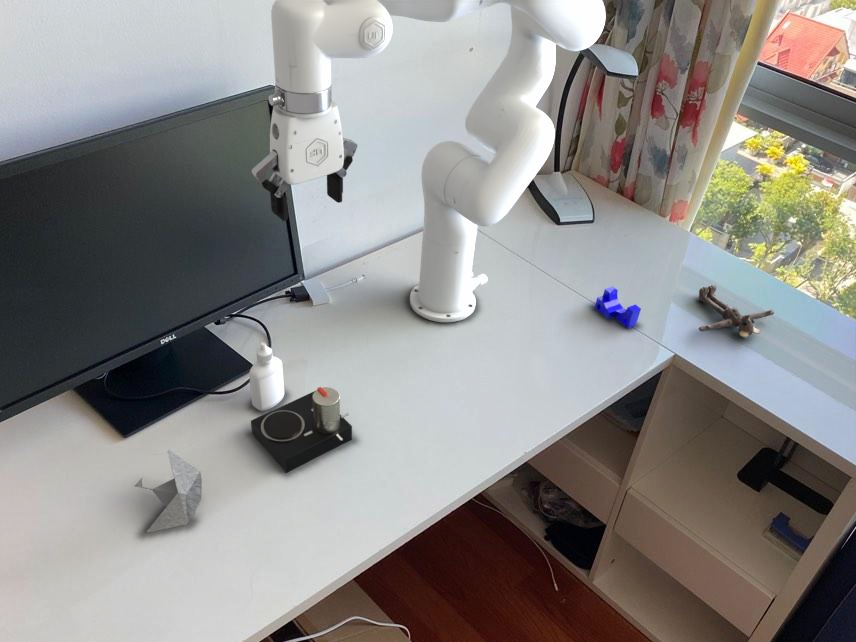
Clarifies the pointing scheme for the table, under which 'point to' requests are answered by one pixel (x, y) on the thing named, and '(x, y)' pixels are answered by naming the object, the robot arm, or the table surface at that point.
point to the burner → (282, 426)
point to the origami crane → (177, 495)
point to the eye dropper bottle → (266, 379)
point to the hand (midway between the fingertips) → (308, 207)
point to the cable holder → (616, 308)
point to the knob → (326, 410)
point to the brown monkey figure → (730, 314)
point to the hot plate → (302, 436)
